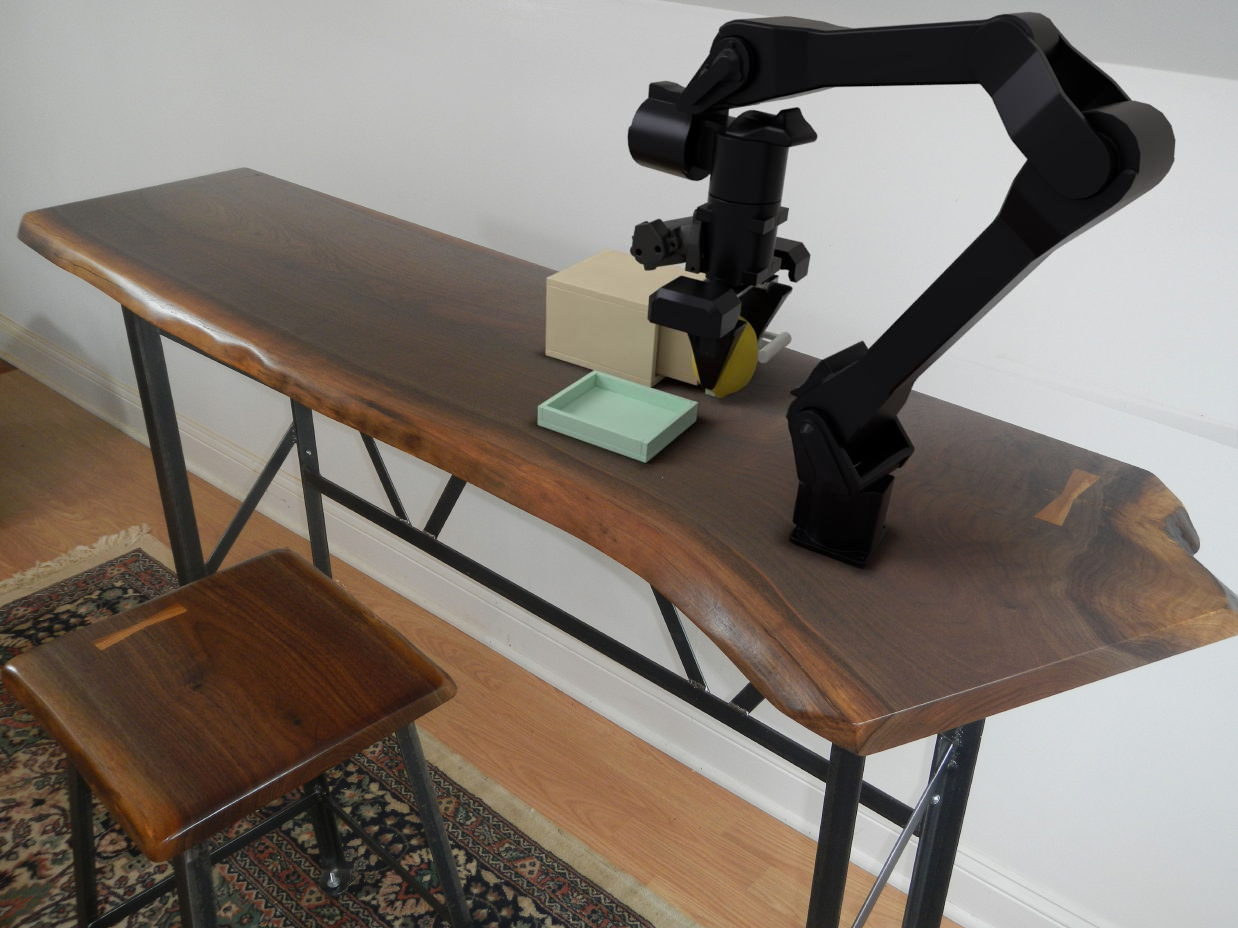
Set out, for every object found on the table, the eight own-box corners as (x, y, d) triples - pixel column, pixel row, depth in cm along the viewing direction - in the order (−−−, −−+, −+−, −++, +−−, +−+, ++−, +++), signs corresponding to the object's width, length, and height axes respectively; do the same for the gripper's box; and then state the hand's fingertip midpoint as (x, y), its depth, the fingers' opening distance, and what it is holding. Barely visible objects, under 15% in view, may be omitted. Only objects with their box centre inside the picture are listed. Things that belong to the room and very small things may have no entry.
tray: (696, 421, 95) (698, 402, 94) (646, 463, 88) (647, 443, 87) (593, 387, 101) (594, 369, 100) (537, 425, 93) (537, 406, 92)
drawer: (794, 370, 105) (805, 307, 101) (752, 408, 96) (761, 342, 93) (662, 332, 112) (667, 273, 108) (611, 365, 103) (614, 302, 100)
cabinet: (704, 349, 111) (712, 274, 106) (650, 388, 101) (657, 307, 97) (604, 321, 116) (608, 248, 112) (545, 355, 107) (546, 277, 102)
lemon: (754, 413, 81) (767, 326, 77) (689, 410, 81) (698, 322, 77) (748, 385, 86) (760, 300, 81) (686, 381, 86) (695, 297, 81)
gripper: (706, 155, 84) (689, 320, 93) (592, 200, 71) (585, 389, 79) (825, 178, 80) (797, 349, 88) (729, 231, 66) (706, 428, 74)
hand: (722, 376), depth 82 cm, fingers closed on lemon, 5 cm apart
